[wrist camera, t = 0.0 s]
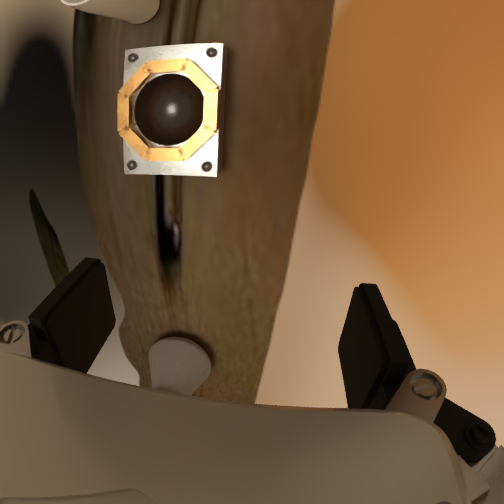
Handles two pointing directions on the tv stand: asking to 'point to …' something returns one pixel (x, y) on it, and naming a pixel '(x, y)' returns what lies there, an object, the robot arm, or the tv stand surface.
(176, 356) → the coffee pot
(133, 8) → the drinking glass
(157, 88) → the octagon ring knob plate
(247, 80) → the tv stand surface
